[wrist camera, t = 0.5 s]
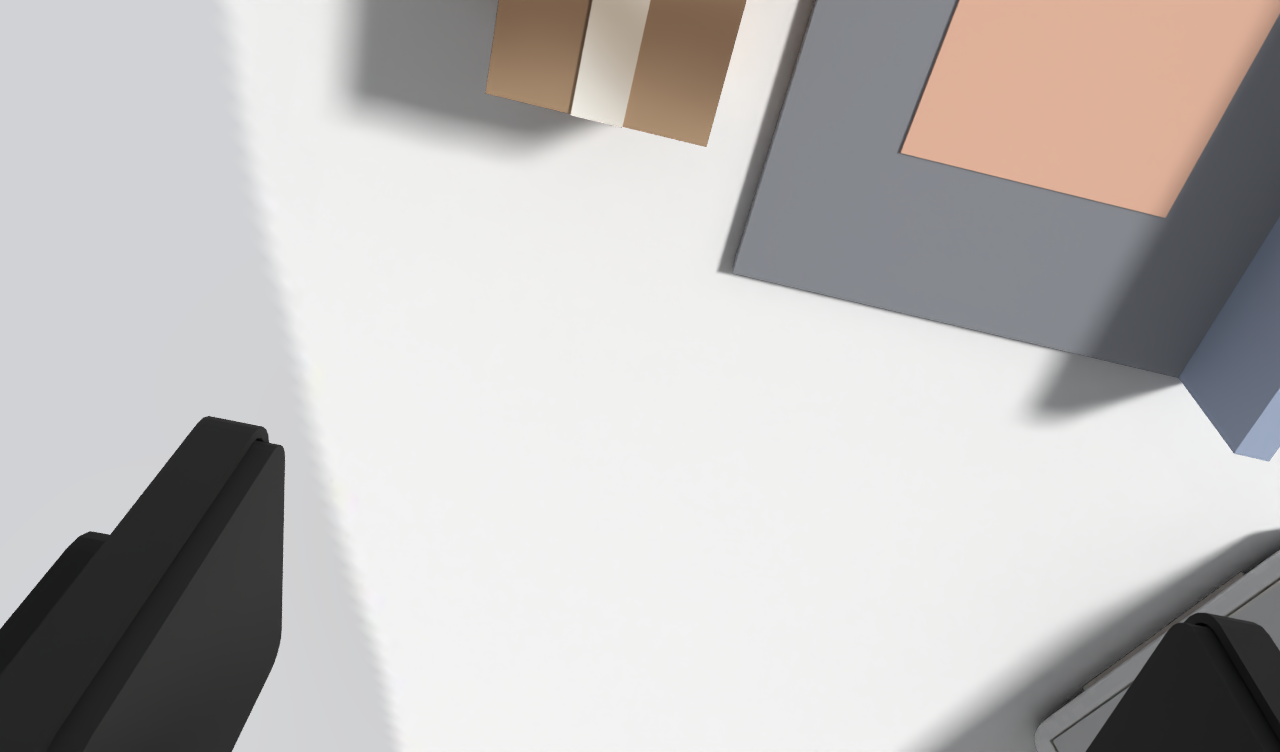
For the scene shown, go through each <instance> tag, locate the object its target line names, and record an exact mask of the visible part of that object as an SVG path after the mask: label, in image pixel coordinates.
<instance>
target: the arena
mask: <svg viewBox="0 0 1280 752" xmlns="http://www.w3.org/2000/svg"><path fill="white" fill-rule="evenodd" d="M733 273H734V274H738V275H742V276H746V277H751V278H755V279H759V280H764V281H768V282H772V283H776V284H781V285H785V286H789V287H793V288H798V289H802V290H806V291H810V292H815V293H819V294H823V295H828V296H832V297H836V298H840V299H845V300H849V301H853V302H857V303H862V304H866V305H870V306H874V307H879V308H883V309H887V310H892V311H896V312H900V313H904V314H909V315H913V316H917V317H921V318H926V319H930V320H934V321H938V322H943V323H947V324H951V325H956V326H960V327H964V328H968V329H973V330H977V331H981V332H985V333H990V334H994V335H998V336H1002V337H1007V338H1011V339H1015V340H1020V341H1024V342H1028V343H1032V344H1037V345H1041V346H1045V347H1049V348H1054V349H1058V350H1062V351H1066V352H1071V353H1075V354H1079V355H1084V356H1088V357H1092V358H1096V359H1101V360H1105V361H1109V362H1113V363H1118V364H1122V365H1126V366H1130V367H1135V368H1139V369H1143V370H1148V371H1152V372H1156V373H1160V374H1165V375H1169V376H1173V377H1177V378H1179V379H1180V380H1181V382H1182V383H1183V384H1184V386H1185V387H1186V389H1187V390H1188V391H1189V393H1190V394H1191V395H1192V397H1193V398H1194V399H1195V401H1196V402H1197V404H1198V405H1199V406H1200V408H1201V409H1202V410H1203V412H1204V413H1205V414H1206V416H1207V417H1208V419H1209V420H1210V421H1211V423H1212V424H1213V425H1214V427H1215V428H1216V429H1217V431H1218V432H1219V434H1220V435H1221V436H1222V438H1223V439H1224V440H1225V442H1226V443H1227V444H1228V446H1229V447H1230V449H1231V450H1232V451H1233V453H1235V454H1239V455H1243V456H1248V457H1252V458H1256V459H1261V460H1265V461H1270V459H1271V458H1272V457H1273V455H1274V454H1275V452H1276V451H1277V450H1278V448H1279V447H1280V0H815V2H814V5H813V9H812V12H811V15H810V18H809V21H808V25H807V28H806V31H805V34H804V38H803V41H802V44H801V47H800V51H799V54H798V57H797V60H796V63H795V67H794V70H793V73H792V76H791V80H790V83H789V86H788V89H787V93H786V96H785V99H784V102H783V105H782V109H781V112H780V115H779V118H778V122H777V125H776V128H775V131H774V135H773V138H772V141H771V144H770V147H769V151H768V154H767V157H766V160H765V164H764V167H763V170H762V173H761V177H760V180H759V183H758V186H757V189H756V193H755V196H754V199H753V202H752V206H751V209H750V212H749V215H748V219H747V222H746V225H745V228H744V231H743V235H742V238H741V241H740V244H739V248H738V251H737V254H736V257H735V261H734V264H733Z"/></svg>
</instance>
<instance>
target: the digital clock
mask: <svg viewBox="0 0 1280 752" xmlns="http://www.w3.org/2000/svg"><path fill="white" fill-rule="evenodd" d="M1195 613H1210V614H1215V615H1220V616H1225V617H1230V618H1235V619H1240V620H1245V621H1250V622H1254V623H1256V624H1258V625H1260V626H1262V627H1263V628H1264V629H1265V631H1266V632H1267V633H1268V634H1269V635H1270V637H1271V638H1272V640H1273V641H1274V643H1275V644H1276V646H1277V647H1278V649H1279V650H1280V550H1278V551H1277V552H1276V553H1274V554H1273V555H1271V556H1270V557H1269V558H1267V559H1266V560H1265V561H1263V562H1262V563H1260V564H1259V565H1258V566H1256V567H1255V568H1253V569H1252V570H1251V571H1249V572H1248V573H1247V574H1245V573H1243V572H1242V571H1241V572H1240V573H1238V574H1237V575H1236V576H1234V577H1233V578H1232V579H1230V580H1229V581H1227V582H1226V583H1225V584H1223V585H1222V586H1221V587H1219V588H1218V589H1216V590H1215V591H1214V592H1212V593H1211V594H1210V595H1208V596H1207V597H1205V598H1204V599H1203V600H1201V601H1200V602H1199V603H1197V604H1196V605H1194V606H1193V607H1192V608H1190V609H1189V610H1188V611H1186V612H1185V613H1183V614H1182V615H1181V616H1179V617H1178V618H1177V619H1175V620H1174V621H1172V622H1171V623H1170V624H1168V625H1167V626H1166V627H1164V628H1163V629H1161V630H1160V631H1159V632H1157V633H1156V634H1155V635H1153V636H1152V637H1150V638H1149V639H1148V640H1146V641H1145V642H1144V643H1142V644H1141V645H1139V646H1138V647H1137V648H1135V649H1134V650H1133V651H1131V652H1130V653H1128V654H1127V655H1126V656H1124V657H1123V658H1122V659H1120V660H1119V661H1117V662H1116V663H1115V664H1113V665H1112V666H1111V667H1109V668H1108V669H1106V670H1105V671H1104V672H1102V673H1101V674H1100V675H1098V676H1097V677H1096V678H1094V679H1093V680H1091V681H1090V682H1089V683H1087V684H1086V685H1085V686H1083V689H1084V692H1082V693H1081V694H1080V695H1078V696H1077V697H1075V698H1074V699H1073V700H1071V701H1070V702H1069V703H1067V704H1066V705H1064V706H1063V707H1062V708H1060V709H1059V710H1058V711H1056V712H1055V713H1053V714H1052V715H1051V716H1049V717H1048V718H1047V719H1046V720H1044V721H1043V722H1042V723H1041V724H1040V725H1039V727H1038V728H1037V730H1036V732H1035V735H1034V743H1035V746H1036V750H1037V752H1086V750H1087V749H1088V747H1089V746H1090V744H1091V743H1092V741H1093V740H1094V738H1095V737H1096V735H1097V734H1098V733H1099V731H1100V730H1101V728H1102V727H1103V725H1104V724H1105V722H1106V721H1107V719H1108V718H1109V716H1110V715H1111V713H1112V712H1113V710H1114V709H1115V708H1116V706H1117V705H1118V703H1119V702H1120V700H1121V699H1122V697H1123V696H1124V694H1125V693H1126V691H1127V690H1128V688H1129V687H1130V686H1131V684H1132V683H1133V681H1134V680H1135V678H1136V677H1137V675H1138V674H1139V672H1140V671H1141V669H1142V668H1143V666H1144V665H1145V663H1146V662H1147V661H1148V659H1149V658H1150V656H1151V655H1152V653H1153V652H1154V650H1155V649H1156V647H1157V646H1158V644H1159V643H1160V641H1161V640H1162V638H1163V637H1164V636H1165V634H1166V633H1167V631H1168V630H1169V629H1170V628H1171V627H1172V626H1173V625H1174V624H1176V623H1184V622H1185V621H1186V619H1187V618H1188V617H1189V616H1191V615H1193V614H1195Z"/></svg>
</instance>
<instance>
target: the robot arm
mask: <svg viewBox="0 0 1280 752" xmlns="http://www.w3.org/2000/svg"><path fill="white" fill-rule="evenodd" d="M284 472H285V452H284V448H283V446H281V445H277V444H271V443H269V440H268V433H267V430H266V429H265V428H264V427H261V426H256V425H251V424H246V423H241V422H236V421H231V420H226V419H221V418H215V417H210V416H208V417H204V418H203V419H202V420H200V422H199V423H197V425H196V426H195V427H194V428H193V430H192V431H191V432H190V434H189V435H188V436H187V437H186V439H185V440H184V441H183V443H182V444H181V445H180V446H179V448H178V449H177V450H176V451H175V453H174V454H173V455H172V457H171V458H170V459H169V460H168V462H167V463H166V464H165V466H164V467H163V468H162V469H161V471H160V472H159V473H158V474H157V476H156V477H155V479H154V480H153V481H152V482H151V484H150V485H149V486H148V487H147V489H146V490H145V491H144V492H143V494H142V495H141V496H140V497H139V499H138V500H137V501H136V503H135V504H134V505H133V506H132V508H131V509H130V510H129V512H128V513H127V514H126V515H125V517H124V518H123V519H122V521H121V522H120V523H119V524H118V526H117V527H116V528H115V530H114V531H113V532H112V533H111V535H108V534H103V533H97V532H88V533H85V534H83V535H81V536H79V537H78V538H77V539H76V540H75V541H74V542H73V543H72V544H71V545H70V546H69V547H68V548H67V549H66V550H65V551H64V552H63V554H62V555H61V556H60V557H59V559H58V560H57V561H56V562H55V563H54V565H53V566H52V567H51V568H50V569H49V571H48V572H47V573H46V574H45V575H44V577H43V578H42V579H41V580H40V582H39V583H38V584H37V585H36V587H35V588H34V589H33V590H32V591H31V592H30V594H29V595H28V596H27V597H26V599H25V600H24V601H23V602H22V603H21V604H20V606H19V607H18V608H17V610H16V611H15V612H14V613H13V614H12V616H11V617H10V618H9V619H8V620H7V621H6V623H5V624H4V625H3V627H2V628H1V629H0V752H232V750H233V748H234V745H235V743H236V741H237V739H238V737H239V735H240V733H241V731H242V729H243V727H244V725H245V723H246V721H247V719H248V717H249V715H250V713H251V711H252V708H253V706H254V704H255V702H256V700H257V698H258V696H259V694H260V692H261V690H262V688H263V686H264V684H265V682H266V680H267V677H268V675H269V673H270V671H271V669H272V667H273V664H274V662H275V659H276V656H277V653H278V648H279V645H280V639H281V630H282V579H283V577H282V576H283V526H284V524H283V523H284V477H285V473H284ZM1086 752H1280V650H1279V649H1278V647H1277V646H1276V644H1275V643H1274V641H1273V640H1272V638H1271V637H1270V635H1269V634H1268V633H1267V632H1266V631H1265V629H1264V628H1263V627H1262V626H1260V625H1258V624H1256V623H1254V622H1250V621H1245V620H1240V619H1235V618H1230V617H1225V616H1220V615H1215V614H1210V613H1195V614H1193V615H1191V616H1189V617H1188V618H1187V619H1186V621H1185V622H1184V623H1176V624H1174V625H1173V626H1172V627H1171V628H1170V629H1169V630H1168V631H1167V633H1166V634H1165V636H1164V637H1163V638H1162V640H1161V641H1160V643H1159V644H1158V646H1157V647H1156V649H1155V650H1154V652H1153V653H1152V655H1151V656H1150V658H1149V659H1148V661H1147V662H1146V663H1145V665H1144V666H1143V668H1142V669H1141V671H1140V672H1139V674H1138V675H1137V677H1136V678H1135V680H1134V681H1133V683H1132V684H1131V686H1130V687H1129V688H1128V690H1127V691H1126V693H1125V694H1124V696H1123V697H1122V699H1121V700H1120V702H1119V703H1118V705H1117V706H1116V708H1115V709H1114V710H1113V712H1112V713H1111V715H1110V716H1109V718H1108V719H1107V721H1106V722H1105V724H1104V725H1103V727H1102V728H1101V730H1100V731H1099V733H1098V734H1097V735H1096V737H1095V738H1094V740H1093V741H1092V743H1091V744H1090V746H1089V747H1088V749H1087V750H1086Z"/></svg>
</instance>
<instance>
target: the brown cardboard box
mask: <svg viewBox="0 0 1280 752" xmlns="http://www.w3.org/2000/svg"><path fill="white" fill-rule="evenodd" d="M745 4H746V0H499V2H498V9H497V16H496V23H495V30H494V37H493V44H492V51H491V58H490V65H489V72H488V80H487V87H486V94H490V95H494V96H498V97H502V98H506V99H511V100H515V101H519V102H523V103H527V104H531V105H535V106H539V107H544V108H548V109H552V110H556V111H560V112H564V113H568V114H571V116H575V117H579V118H584V119H588V120H592V121H596V122H600V123H604V124H608V125H612V126H617V127H621V128H622V127H626V128H630V129H634V130H638V131H643V132H647V133H651V134H655V135H659V136H663V137H667V138H672V139H676V140H680V141H684V142H688V143H692V144H696V145H700V146H705V147H706V146H707V143H708V139H709V135H710V132H711V128H712V124H713V121H714V117H715V113H716V110H717V106H718V102H719V99H720V95H721V92H722V88H723V84H724V81H725V77H726V73H727V70H728V66H729V62H730V59H731V55H732V51H733V48H734V44H735V40H736V37H737V33H738V29H739V26H740V22H741V18H742V15H743V11H744V7H745Z"/></svg>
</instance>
